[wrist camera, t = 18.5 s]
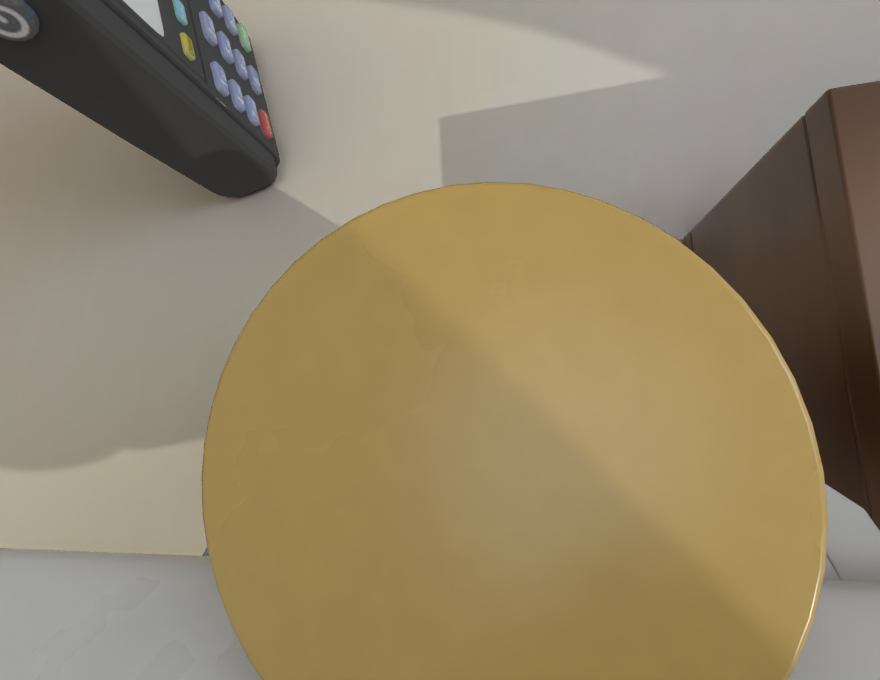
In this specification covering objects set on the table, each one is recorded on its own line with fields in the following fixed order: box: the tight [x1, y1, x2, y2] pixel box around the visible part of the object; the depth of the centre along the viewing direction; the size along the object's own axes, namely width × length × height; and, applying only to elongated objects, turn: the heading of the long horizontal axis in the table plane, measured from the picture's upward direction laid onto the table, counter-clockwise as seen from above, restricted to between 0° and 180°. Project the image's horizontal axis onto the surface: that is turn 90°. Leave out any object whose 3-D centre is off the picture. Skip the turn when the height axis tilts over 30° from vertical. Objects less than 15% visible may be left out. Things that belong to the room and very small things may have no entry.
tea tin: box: [202, 182, 828, 680], centre depth 11 cm, size 6×6×14 cm
